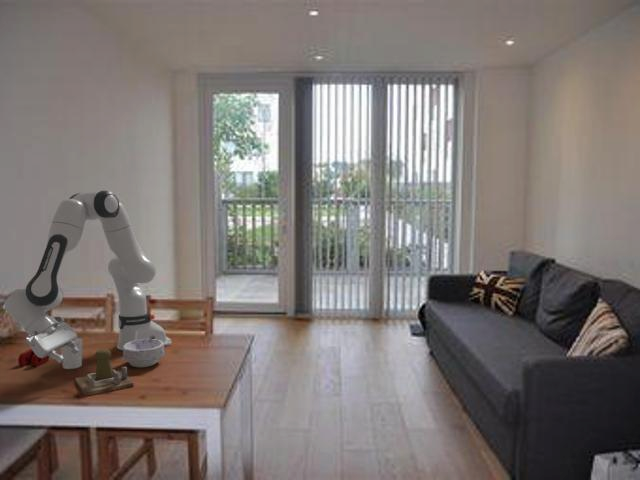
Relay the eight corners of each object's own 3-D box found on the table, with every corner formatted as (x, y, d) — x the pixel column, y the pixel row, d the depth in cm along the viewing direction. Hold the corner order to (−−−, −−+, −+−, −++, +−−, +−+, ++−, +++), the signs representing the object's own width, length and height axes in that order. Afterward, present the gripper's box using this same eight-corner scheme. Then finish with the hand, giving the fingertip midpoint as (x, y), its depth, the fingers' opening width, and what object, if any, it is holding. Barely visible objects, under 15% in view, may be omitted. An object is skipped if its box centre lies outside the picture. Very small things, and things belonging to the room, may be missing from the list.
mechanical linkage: (35, 368, 212) (34, 355, 212) (18, 367, 213) (17, 354, 213) (60, 355, 228) (60, 343, 228) (44, 354, 229) (44, 342, 229)
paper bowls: (126, 372, 207) (126, 352, 206) (120, 361, 221) (120, 341, 220) (168, 366, 214) (167, 346, 213) (160, 355, 228) (159, 336, 227)
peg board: (121, 372, 207) (121, 359, 206) (133, 386, 194) (133, 371, 193) (75, 381, 198) (74, 367, 198) (84, 396, 185) (83, 381, 184)
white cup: (88, 364, 217) (86, 339, 215) (73, 370, 209) (71, 345, 208) (71, 362, 219) (70, 337, 218) (56, 368, 212) (55, 343, 211)
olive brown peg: (98, 377, 199) (96, 347, 197) (115, 377, 199) (114, 347, 198) (92, 383, 193) (91, 352, 191) (110, 383, 193) (109, 352, 192)
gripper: (29, 330, 185) (58, 360, 185) (64, 315, 206) (90, 342, 206) (17, 343, 186) (46, 372, 186) (53, 327, 207) (79, 353, 207)
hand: (69, 356), depth 196 cm, fingers open, 8 cm apart
